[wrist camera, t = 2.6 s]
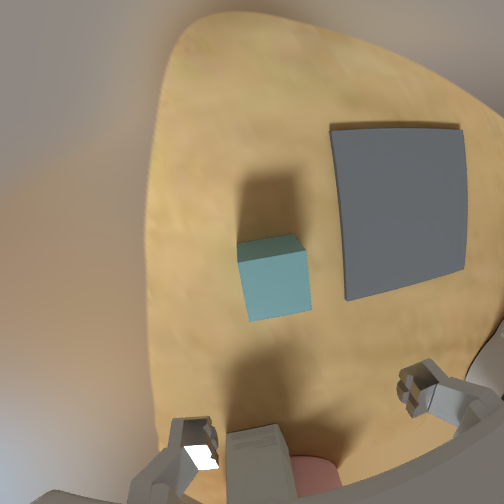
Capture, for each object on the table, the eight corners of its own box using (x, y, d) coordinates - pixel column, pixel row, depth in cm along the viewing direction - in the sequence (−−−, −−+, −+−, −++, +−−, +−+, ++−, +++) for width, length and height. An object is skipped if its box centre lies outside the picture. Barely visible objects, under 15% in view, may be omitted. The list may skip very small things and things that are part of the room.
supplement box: (224, 432, 33) (225, 512, 21) (278, 421, 33) (293, 502, 21) (240, 457, 36) (244, 527, 24) (288, 447, 35) (302, 518, 23)
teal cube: (292, 233, 26) (306, 250, 21) (298, 284, 27) (311, 310, 22) (236, 243, 26) (237, 262, 21) (246, 294, 27) (249, 321, 22)
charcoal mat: (459, 130, 23) (462, 130, 23) (461, 267, 28) (463, 269, 28) (329, 131, 23) (331, 131, 22) (344, 298, 28) (346, 301, 27)
